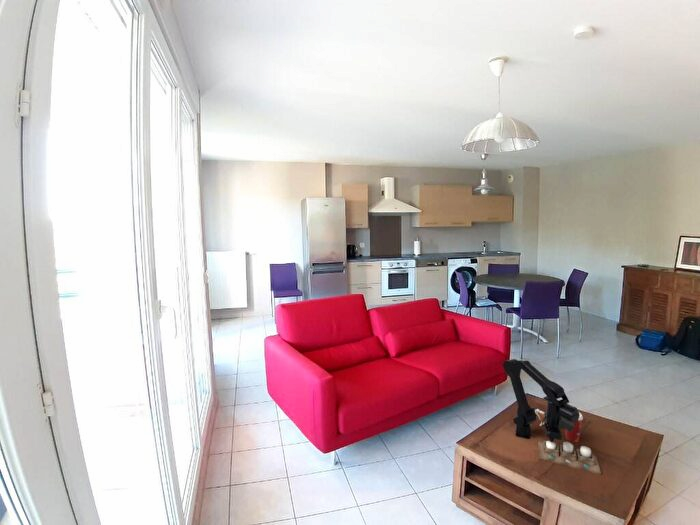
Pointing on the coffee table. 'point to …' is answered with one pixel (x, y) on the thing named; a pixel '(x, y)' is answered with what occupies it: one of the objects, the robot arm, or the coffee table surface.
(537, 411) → the bull figurine
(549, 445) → the button left
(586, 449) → the button right
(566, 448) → the button mid
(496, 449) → the coffee table surface
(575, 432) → the paper cup
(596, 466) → the board
